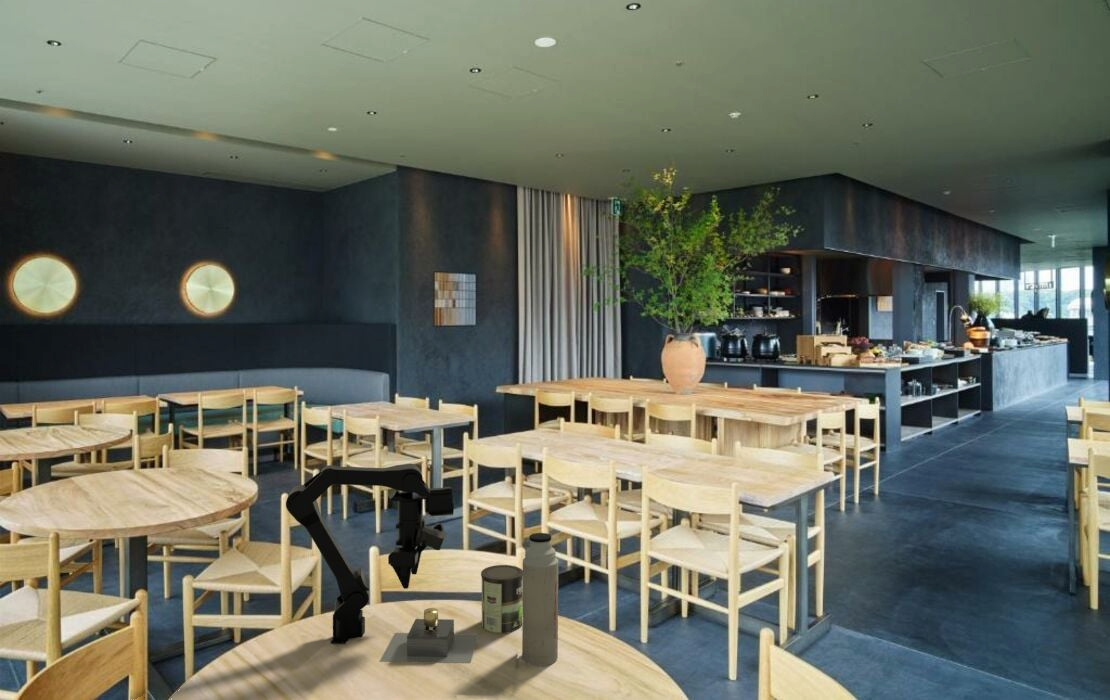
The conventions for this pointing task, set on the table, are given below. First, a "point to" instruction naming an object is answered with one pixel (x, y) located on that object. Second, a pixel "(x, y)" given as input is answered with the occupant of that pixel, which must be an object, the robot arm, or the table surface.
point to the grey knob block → (430, 639)
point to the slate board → (457, 654)
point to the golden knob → (431, 617)
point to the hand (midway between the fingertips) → (410, 581)
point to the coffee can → (502, 598)
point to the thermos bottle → (540, 602)
